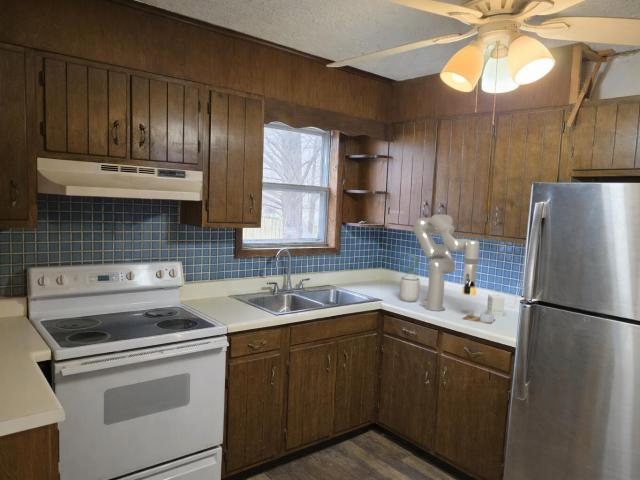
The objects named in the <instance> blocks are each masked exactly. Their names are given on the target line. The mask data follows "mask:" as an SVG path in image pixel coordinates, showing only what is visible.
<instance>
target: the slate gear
mask: <svg viewBox="0 0 640 480" xmlns="http://www.w3.org/2000/svg"><path fill="white" fill-rule="evenodd" d="M479 317H480V321H484V322H493V321H494V318H495V316H494V315H493V314H491V313H489V314H486V311H485V312H484V311H483V312H480V313H479ZM494 322H495V321H494ZM494 322H493V323H494Z"/></svg>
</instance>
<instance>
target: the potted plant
mask: <svg viewBox="0 0 640 480" xmlns="http://www.w3.org/2000/svg"><path fill="white" fill-rule="evenodd" d="M407 256H408V257H410V258H412V259H414V262H413V263H414V264H413V266H406V267H405V268H406V269H408V271H407V272H406V274H404V275H403V276H401V279H400V286H399V297H400V300H402V302H404V303H405V302H407V303H415V302H417V301H418V300H419V296H420V284H421V283H420V282H421V281H420V278H419V277H418V276H417V275H416V274H415V272H414V270H415V269H417V268H418V267H419V266H418V265H419V257H418V256H416V255H414V254H411V253H410V254H409V253H408V254H407Z"/></svg>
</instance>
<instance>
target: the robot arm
mask: <svg viewBox="0 0 640 480" xmlns="http://www.w3.org/2000/svg"><path fill="white" fill-rule="evenodd" d="M453 223H454V220H453V218H452V216H451V215H449V214H441V213H440V214H433V215H432V216H431V217H420V218H417V219H415V221H414V223H413V233H414V236H415V238H416V239H417V240H418V242H419V244H420V247H421V249H422V251H423V254H424V255H425V257H426V258H427V259H429V262H428V266H427V269H428V270H427V271H428V286H427V287H428V289H427V298H426V299H427V300H426V299H425V300H424V299H421V300H420V303H421V304H424V306H423V308H424V309H426V310H429V311H434V312H438V311H439V312H442V311H445V310H446V308H445V306H444V305H443V304H444V293H445V279H444V276H443V275H444V274H445V275H446V274H452V273H454V272H455V270H456V264H455V260H454V259H453V256H452V254H451V252H454V253H455V252H456V253H457V252H458V253H459V252H463V253H464V260H463V261H464V262H463V263H464V264H463V265H464V268H463V274H462V275H463V277H462V281H463V282H464V285H463V287H464V293H466V294H470V286H471V287H475V285H476V280H477V266H479V254H480V241H479V240H474V239H468V238H455V237H453V234H454V233H455V227H454V226H453ZM428 232H438V234H440V235H441V240H442V244H441V243H440V244H439V243H436V242H435V240H434V239H433V237H432V236H431V234H430V233H428ZM450 251H451V252H450ZM475 288H476V287H475Z"/></svg>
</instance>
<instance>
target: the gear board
mask: <svg viewBox="0 0 640 480" xmlns="http://www.w3.org/2000/svg"><path fill="white" fill-rule="evenodd" d="M474 311H475V310H474ZM474 311H473V310H471V311H470V314H467V315H466V316H463V317H462V318H461V320H464V321H471V322H477V323H481V324H486V325H492V324H493V323H494V322H495V321H496V319H494V321H493V322H484V321H480V316H478V315H475V314H474ZM485 312H486V314H489V311H487V310H485Z"/></svg>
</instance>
